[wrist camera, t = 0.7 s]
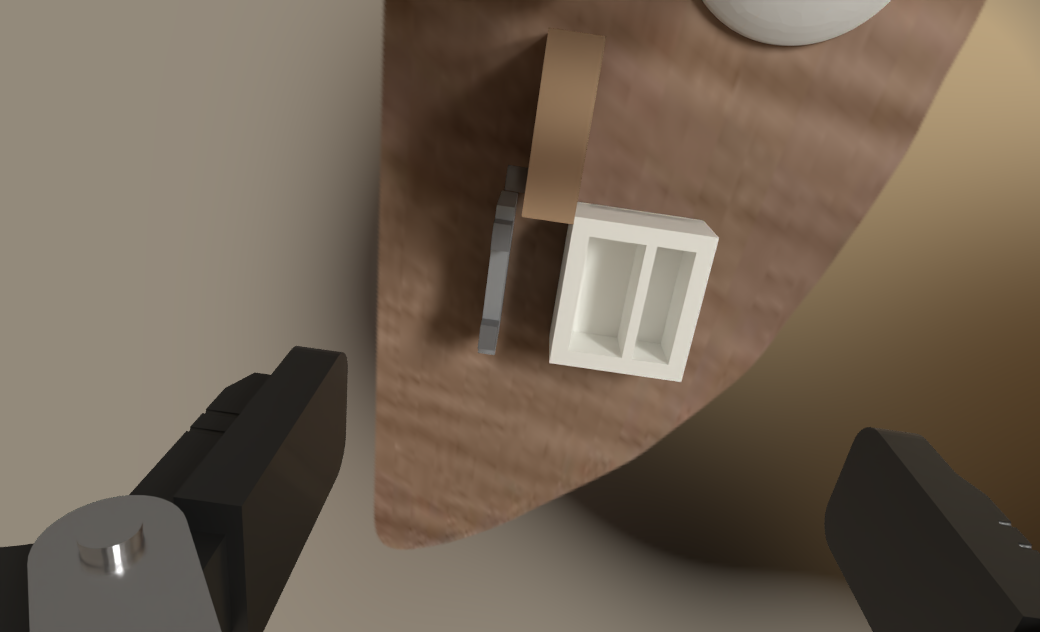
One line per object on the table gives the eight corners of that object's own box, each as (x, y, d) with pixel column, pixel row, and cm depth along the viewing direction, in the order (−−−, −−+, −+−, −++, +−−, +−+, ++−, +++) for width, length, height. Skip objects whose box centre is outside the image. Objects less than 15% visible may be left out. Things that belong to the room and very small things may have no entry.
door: (530, 30, 36) (524, 23, 27) (591, 39, 36) (606, 36, 27) (511, 174, 39) (499, 213, 30) (567, 183, 39) (573, 224, 30)
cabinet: (501, 190, 40) (495, 209, 35) (703, 220, 40) (723, 242, 35) (484, 326, 43) (476, 359, 38) (669, 353, 43) (684, 389, 39)
